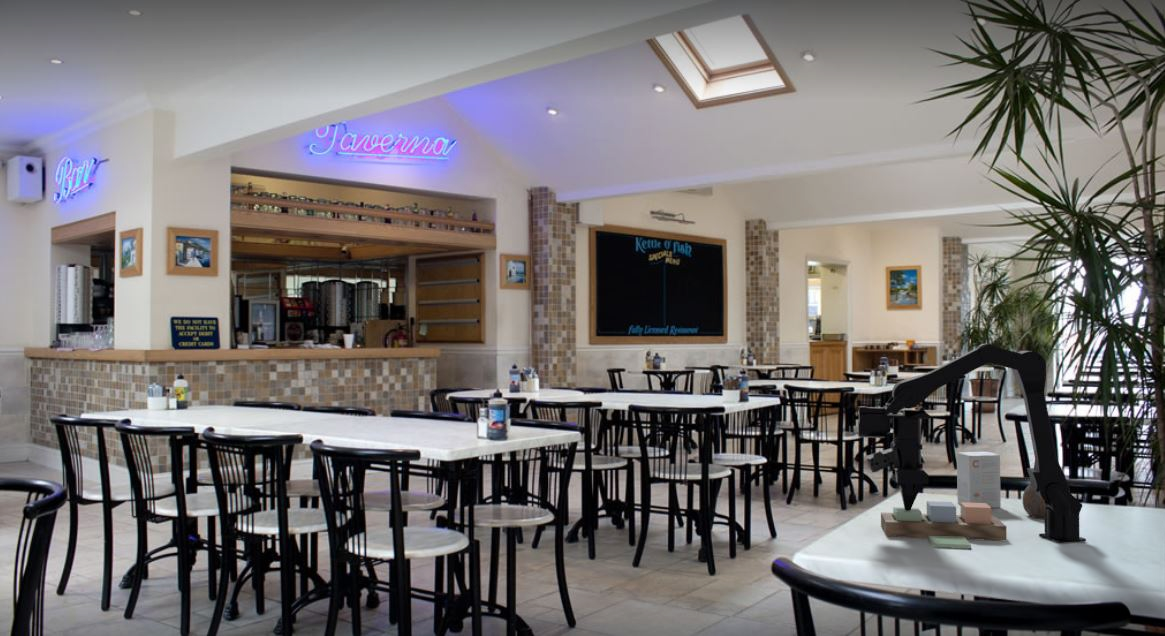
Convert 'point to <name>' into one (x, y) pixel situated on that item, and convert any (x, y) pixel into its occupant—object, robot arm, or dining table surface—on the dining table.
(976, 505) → the terracotta button
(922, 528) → the walnut panel
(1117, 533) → the dining table surface
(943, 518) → the slate button
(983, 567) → the dining table surface
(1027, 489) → the vase
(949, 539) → the sage tile
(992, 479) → the small box
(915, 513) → the sage button
